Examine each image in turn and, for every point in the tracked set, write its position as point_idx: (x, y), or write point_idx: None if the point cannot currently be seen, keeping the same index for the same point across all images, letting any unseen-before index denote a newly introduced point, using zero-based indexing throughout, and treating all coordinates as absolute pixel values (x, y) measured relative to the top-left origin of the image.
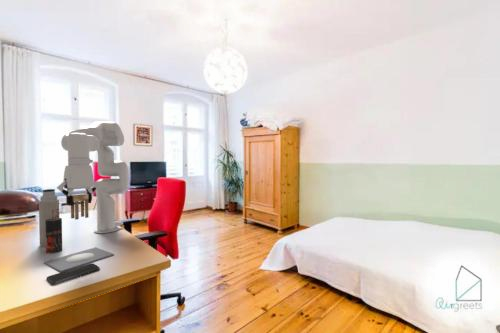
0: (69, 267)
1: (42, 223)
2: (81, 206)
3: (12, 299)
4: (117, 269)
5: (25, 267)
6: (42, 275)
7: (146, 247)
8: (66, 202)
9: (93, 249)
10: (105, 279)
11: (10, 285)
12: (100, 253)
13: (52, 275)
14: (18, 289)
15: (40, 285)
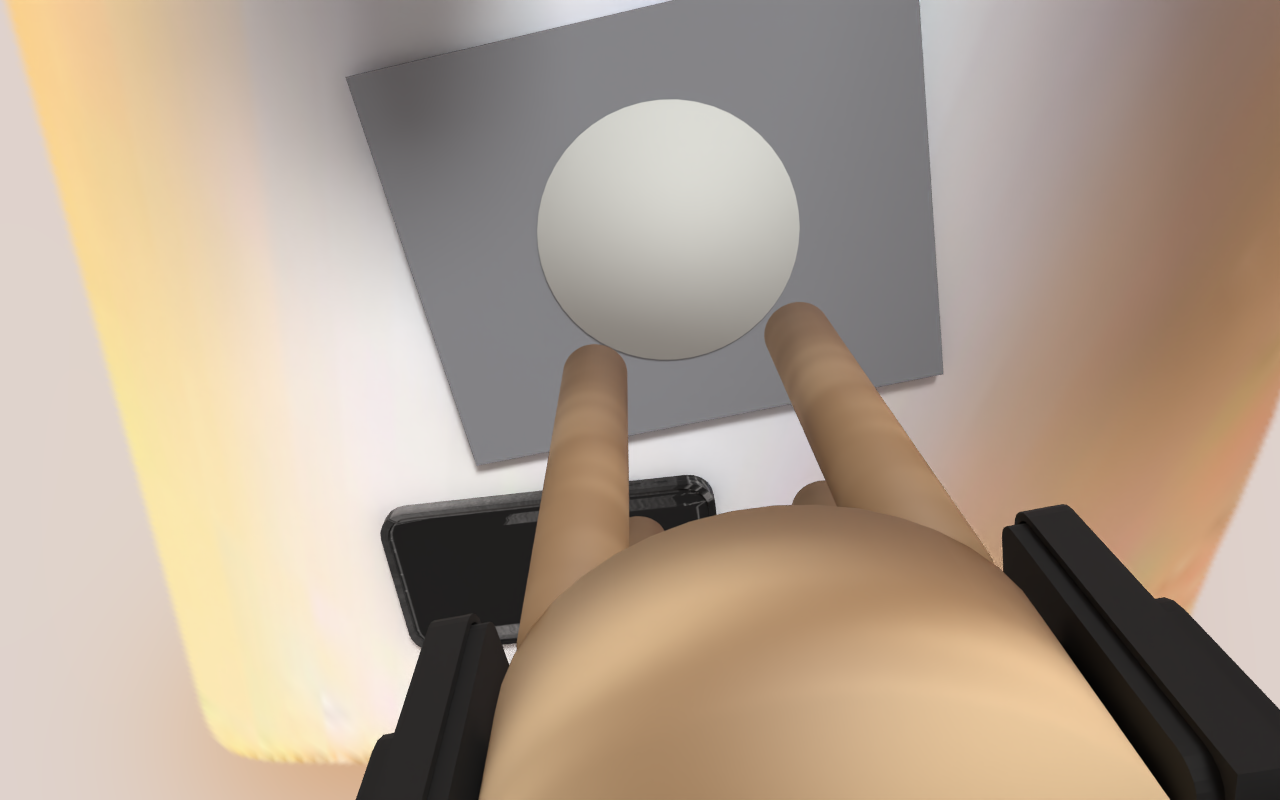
0: (542, 438)
1: None
2: (824, 471)
3: (226, 671)
4: None
5: (191, 68)
6: (354, 417)
7: (1269, 381)
8: (379, 742)
9: (860, 30)
10: None
11: (164, 453)
12: (858, 257)
13: (418, 515)
14: (231, 559)
15: (353, 590)
